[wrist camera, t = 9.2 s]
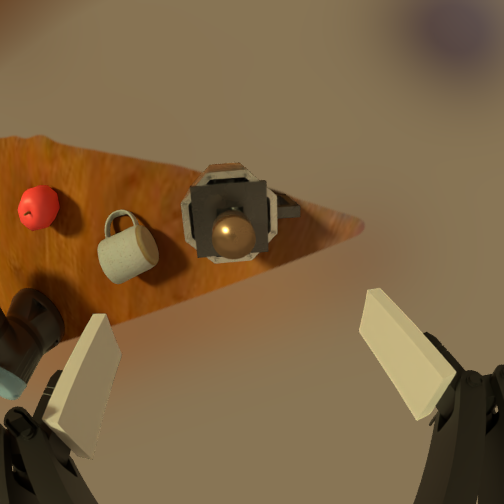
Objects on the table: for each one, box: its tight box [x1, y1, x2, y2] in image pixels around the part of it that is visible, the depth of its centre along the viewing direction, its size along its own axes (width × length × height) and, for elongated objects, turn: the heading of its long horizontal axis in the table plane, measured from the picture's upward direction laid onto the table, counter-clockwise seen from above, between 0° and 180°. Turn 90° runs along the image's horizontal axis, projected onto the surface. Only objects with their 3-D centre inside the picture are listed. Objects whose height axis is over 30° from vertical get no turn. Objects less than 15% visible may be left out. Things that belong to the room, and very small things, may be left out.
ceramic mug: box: [98, 210, 159, 284], centre depth 40 cm, size 11×8×8 cm
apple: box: [18, 185, 60, 231], centre depth 35 cm, size 8×8×8 cm
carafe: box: [181, 163, 300, 263], centre depth 37 cm, size 14×11×13 cm
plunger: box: [209, 178, 256, 259], centre depth 33 cm, size 8×8×18 cm
